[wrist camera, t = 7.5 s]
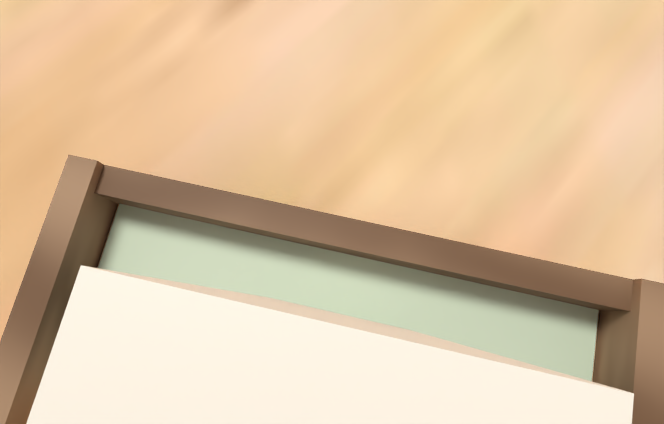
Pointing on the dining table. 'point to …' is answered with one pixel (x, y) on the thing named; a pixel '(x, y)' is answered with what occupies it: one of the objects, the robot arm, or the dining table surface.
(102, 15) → the dining table surface
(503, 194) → the dining table surface
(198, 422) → the pale cream block
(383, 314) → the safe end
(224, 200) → the brown flat frame
